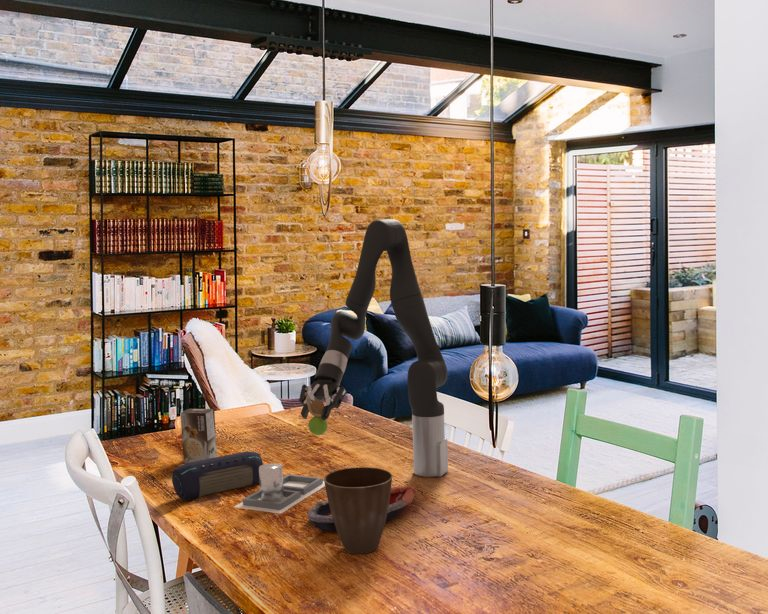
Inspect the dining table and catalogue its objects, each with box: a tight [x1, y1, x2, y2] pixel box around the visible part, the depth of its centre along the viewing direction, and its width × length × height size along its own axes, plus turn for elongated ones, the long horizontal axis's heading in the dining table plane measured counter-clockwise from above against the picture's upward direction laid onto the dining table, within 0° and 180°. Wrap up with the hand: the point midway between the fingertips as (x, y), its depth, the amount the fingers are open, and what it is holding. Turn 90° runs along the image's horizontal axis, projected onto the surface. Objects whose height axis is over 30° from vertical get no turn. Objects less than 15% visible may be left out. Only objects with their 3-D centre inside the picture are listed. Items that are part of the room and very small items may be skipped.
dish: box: [307, 486, 416, 532], centre depth 188 cm, size 16×31×5 cm, turn 124°
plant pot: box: [323, 466, 393, 555], centre depth 169 cm, size 15×15×16 cm
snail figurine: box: [305, 392, 329, 436], centre depth 219 cm, size 5×6×12 cm
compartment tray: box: [233, 473, 325, 514], centre depth 203 cm, size 14×26×3 cm, turn 156°
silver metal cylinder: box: [258, 462, 284, 502], centre depth 197 cm, size 6×6×9 cm
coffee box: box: [180, 408, 218, 464], centre depth 242 cm, size 9×6×16 cm
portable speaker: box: [171, 451, 264, 501], centre depth 210 cm, size 25×10×10 cm, turn 124°
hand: (313, 418), depth 217 cm, fingers closed on snail figurine, 5 cm apart
